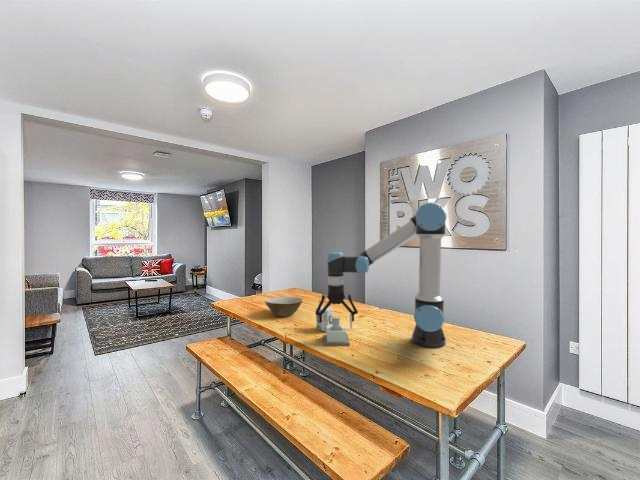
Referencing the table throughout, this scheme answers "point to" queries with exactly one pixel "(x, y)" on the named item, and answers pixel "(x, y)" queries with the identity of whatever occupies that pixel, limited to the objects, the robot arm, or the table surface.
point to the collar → (336, 334)
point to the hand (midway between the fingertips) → (336, 328)
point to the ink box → (325, 319)
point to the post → (336, 327)
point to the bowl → (284, 305)
